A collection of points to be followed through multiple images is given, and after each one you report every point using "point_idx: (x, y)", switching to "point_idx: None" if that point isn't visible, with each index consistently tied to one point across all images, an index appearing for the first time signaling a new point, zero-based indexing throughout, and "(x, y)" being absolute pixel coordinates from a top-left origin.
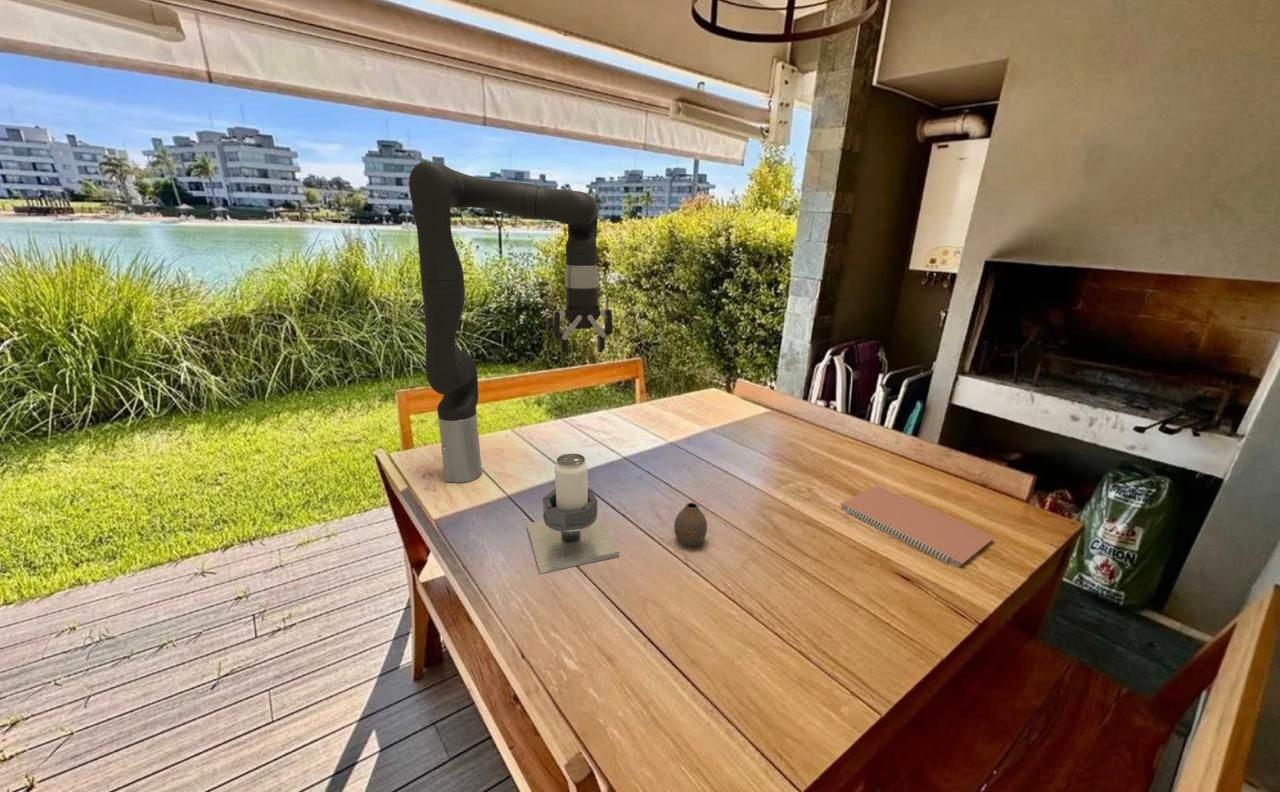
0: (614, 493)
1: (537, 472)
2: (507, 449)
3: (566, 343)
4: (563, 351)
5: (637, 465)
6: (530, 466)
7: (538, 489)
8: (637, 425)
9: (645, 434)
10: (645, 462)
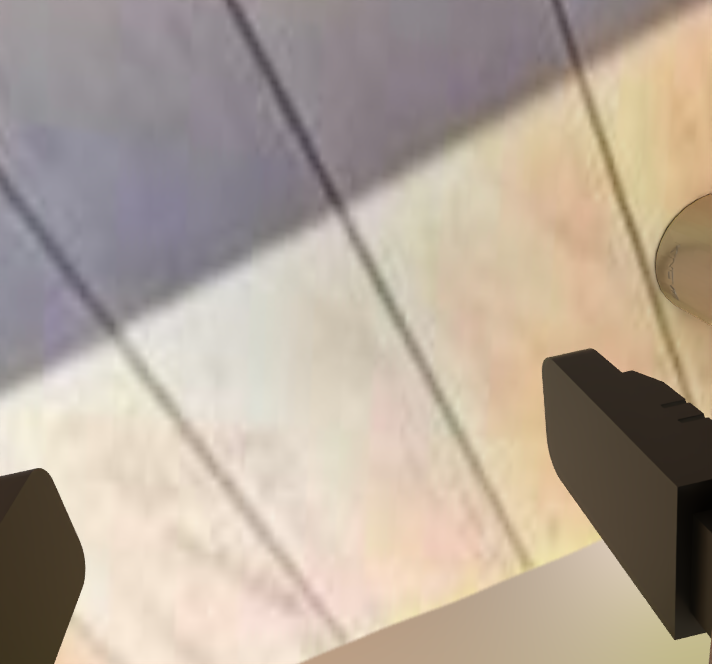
0: (163, 18)
1: (463, 242)
2: None
3: (661, 439)
4: (632, 378)
5: (56, 256)
6: (486, 293)
7: (467, 103)
8: None
9: None
10: (19, 280)
